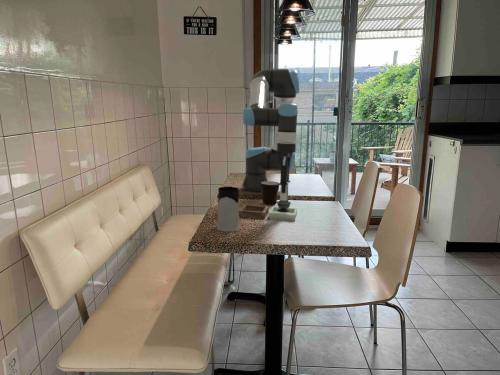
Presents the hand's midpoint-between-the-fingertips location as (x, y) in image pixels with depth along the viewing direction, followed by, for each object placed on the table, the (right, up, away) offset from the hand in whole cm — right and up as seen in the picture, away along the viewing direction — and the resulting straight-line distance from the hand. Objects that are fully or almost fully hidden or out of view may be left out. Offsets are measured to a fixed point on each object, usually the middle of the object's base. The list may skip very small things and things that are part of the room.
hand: (283, 198), depth 157 cm
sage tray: (0, -7, +1) cm, 7 cm away
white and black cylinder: (-22, -10, -13) cm, 27 cm away
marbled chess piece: (0, -5, +1) cm, 5 cm away
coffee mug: (-4, -3, +24) cm, 24 cm away
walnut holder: (-12, -7, +4) cm, 15 cm away
